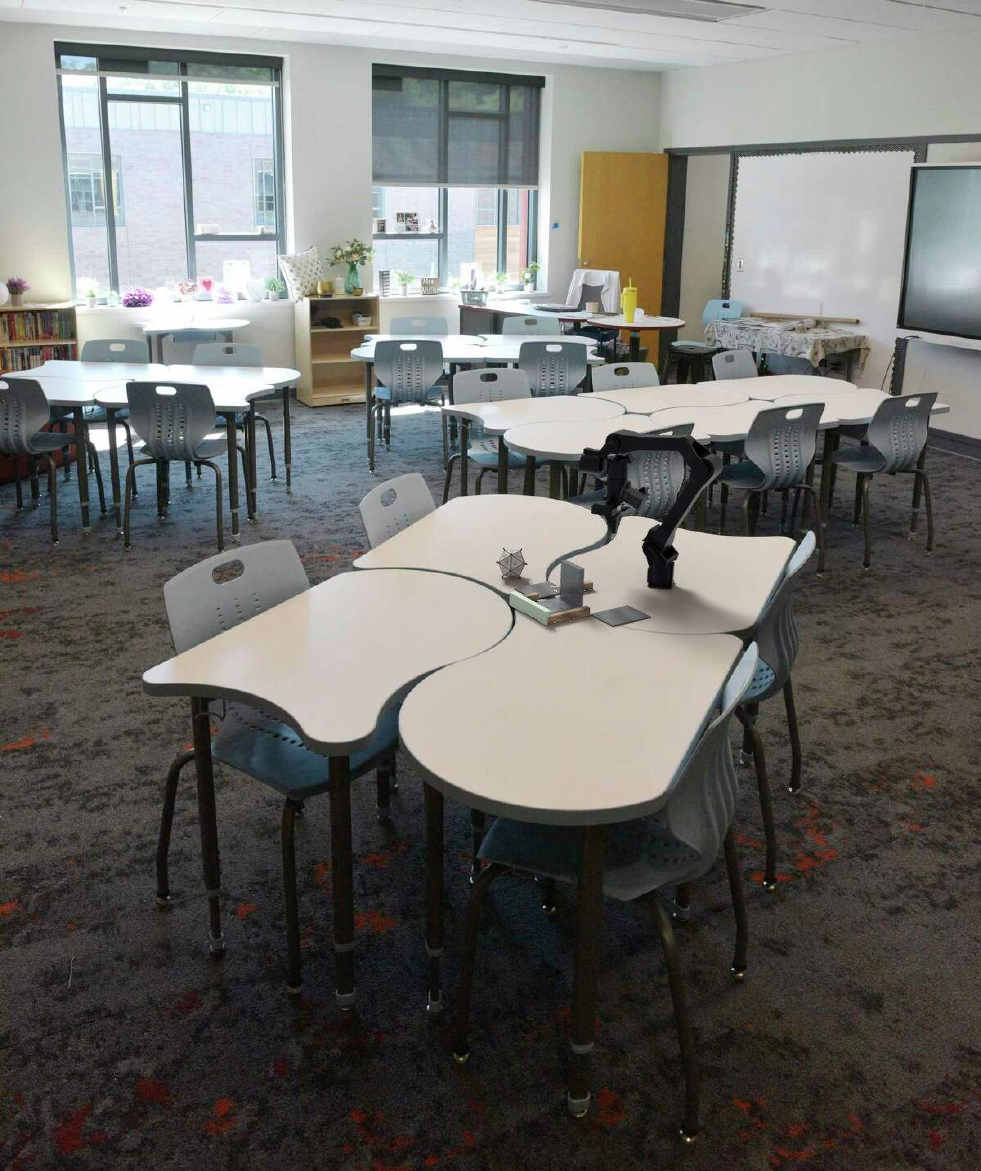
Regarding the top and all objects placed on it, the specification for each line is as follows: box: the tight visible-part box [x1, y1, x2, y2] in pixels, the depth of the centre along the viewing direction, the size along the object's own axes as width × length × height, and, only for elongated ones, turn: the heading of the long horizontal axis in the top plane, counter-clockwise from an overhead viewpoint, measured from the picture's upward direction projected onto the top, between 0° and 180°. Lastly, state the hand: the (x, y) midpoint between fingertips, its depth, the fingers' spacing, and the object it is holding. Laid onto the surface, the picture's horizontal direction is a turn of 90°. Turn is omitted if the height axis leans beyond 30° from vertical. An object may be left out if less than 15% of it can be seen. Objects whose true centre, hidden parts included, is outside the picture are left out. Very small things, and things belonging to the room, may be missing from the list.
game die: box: [495, 547, 528, 580], centre depth 294 cm, size 9×8×10 cm
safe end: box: [509, 590, 551, 626], centre depth 268 cm, size 2×16×4 cm, turn 32°
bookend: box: [536, 559, 585, 614], centre depth 271 cm, size 12×8×11 cm, turn 122°
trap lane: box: [514, 580, 652, 628], centre depth 275 cm, size 25×34×2 cm
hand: (614, 533), depth 294 cm, fingers closed
